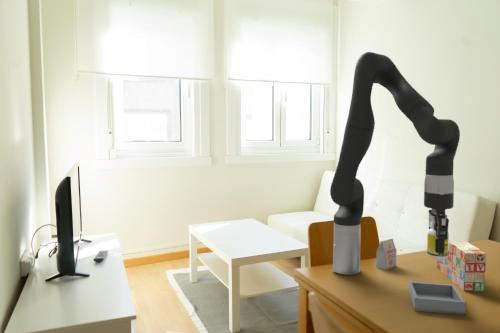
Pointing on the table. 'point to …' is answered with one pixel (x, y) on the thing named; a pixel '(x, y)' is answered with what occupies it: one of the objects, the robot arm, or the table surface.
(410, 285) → the box
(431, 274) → the table surface
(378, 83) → the robot arm
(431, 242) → the supplement bottle
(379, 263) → the herbal tea box
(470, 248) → the stack of blocks
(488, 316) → the table surface
